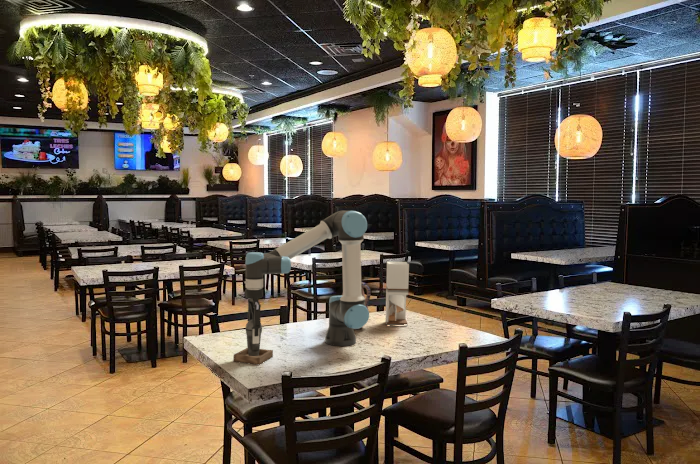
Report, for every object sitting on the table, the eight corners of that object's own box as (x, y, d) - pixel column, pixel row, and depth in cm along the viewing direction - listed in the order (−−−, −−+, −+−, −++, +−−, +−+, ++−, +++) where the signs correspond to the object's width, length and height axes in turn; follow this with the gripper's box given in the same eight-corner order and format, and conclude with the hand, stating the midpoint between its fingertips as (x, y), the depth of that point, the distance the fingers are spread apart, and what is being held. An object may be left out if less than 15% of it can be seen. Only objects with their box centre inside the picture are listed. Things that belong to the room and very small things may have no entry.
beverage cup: (246, 352, 237) (246, 307, 236) (262, 352, 238) (263, 307, 237) (244, 357, 230) (244, 310, 229) (261, 357, 231) (261, 310, 229)
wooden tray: (272, 357, 238) (272, 350, 238) (259, 364, 226) (259, 357, 226) (247, 354, 242) (247, 347, 242) (233, 361, 230) (233, 354, 230)
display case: (386, 326, 302) (388, 263, 300) (385, 322, 312) (386, 261, 310) (407, 326, 302) (408, 264, 300) (405, 322, 312) (406, 262, 310)
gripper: (240, 285, 240) (240, 336, 241) (250, 292, 222) (250, 347, 223) (257, 284, 243) (257, 335, 244) (268, 291, 225) (268, 346, 226)
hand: (253, 341), depth 234 cm, fingers closed on beverage cup, 7 cm apart
